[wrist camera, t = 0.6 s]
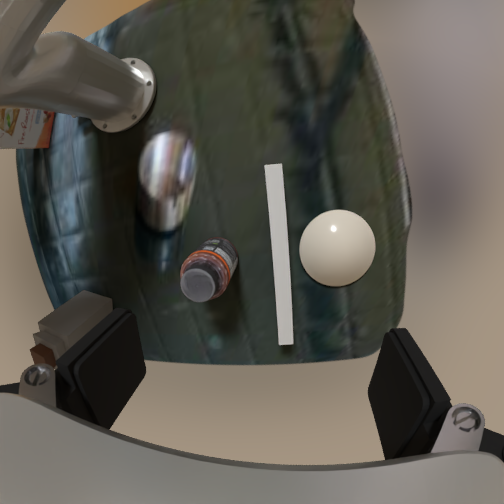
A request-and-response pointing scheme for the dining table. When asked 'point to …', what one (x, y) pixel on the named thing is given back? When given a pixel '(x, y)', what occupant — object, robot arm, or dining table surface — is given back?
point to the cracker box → (25, 128)
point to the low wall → (280, 251)
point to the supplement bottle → (208, 270)
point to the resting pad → (337, 247)
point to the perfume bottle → (68, 326)
